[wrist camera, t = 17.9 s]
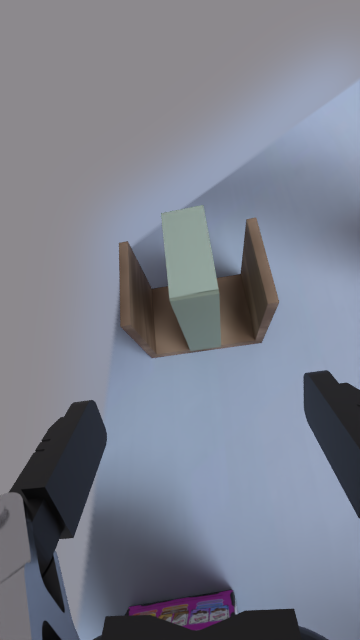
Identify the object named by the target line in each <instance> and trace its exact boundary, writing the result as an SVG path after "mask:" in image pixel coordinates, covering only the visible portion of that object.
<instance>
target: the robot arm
mask: <svg viewBox="0 0 360 640" xmlns="http://www.w3.org/2000/svg"><path fill="white" fill-rule="evenodd" d="M304 411H305V415H306V419H307V421H308V424H309V426H310V428H311V430H312V431H313V433H314V435H315V437H316V439H317V441H318V443H319V445H320V446H321V448H322V450H323V452H324V454H325V456H326V458H327V460H328V461H329V463H330V465H331V467H332V469H333V471H334V473H335V474H336V476H337V478H338V480H339V482H340V484H341V486H342V488H343V489H344V491H345V493H346V495H347V497H348V499H349V501H350V503H351V504H352V506H353V508H354V510H355V512H356V514H357V516H358V518H360V390H359V389H357V388H355V387H354V386H352V385H350V384H348V383H340V384H339V383H338V382H337V381H336V379H335V378H334V377H333V376H332V374H331V373H330V372H329V371H327V370H325V371H317V372H310V373H305V374H304ZM106 442H107V433H106V429H105V426H104V423H103V421H102V418H101V415H100V413H99V410H98V408H97V405H96V403H95V402H94V401H93V400H89V401H81V402H74V403H73V404H71V406H70V408H69V409H68V411H67V413H66V414H65V416H64V417H61V418H60V419H59V420H58V421H56V422H55V423H54V424H53V425H52V426H51V427H50V428H49V429H48V431H47V433H46V434H45V436H44V437H43V439H42V442H41V443H40V444H39V445H38V447H37V448H36V452H35V453H33V455H32V456H31V458H30V460H29V461H28V463H27V465H26V466H25V468H24V469H23V471H22V472H21V474H20V475H19V477H18V479H17V480H16V482H15V483H14V485H13V487H12V488H11V490H10V491H9V493H6V494H3V495H1V496H0V640H80V639H79V636H78V634H77V631H76V629H75V627H74V624H73V621H72V617H71V613H70V609H69V605H68V600H67V596H66V591H65V587H64V583H63V578H62V574H61V570H60V565H59V560H58V556H57V553H56V551H55V549H56V546H57V543H58V541H59V539H66V538H73V537H74V535H75V532H76V529H77V526H78V523H79V521H80V517H81V515H82V512H83V509H84V506H85V503H86V501H87V498H88V495H89V492H90V489H91V486H92V484H93V481H94V478H95V475H96V472H97V469H98V466H99V464H100V461H101V458H102V455H103V452H104V449H105V446H106ZM93 640H328V639H326V638H325V637H323V636H321V635H319V634H317V633H315V632H313V631H311V630H309V629H306V628H303V627H300V626H298V622H297V618H296V614H295V611H294V609H276V610H251V611H243V612H241V613H239V614H236V615H234V616H232V617H229V618H227V619H225V620H222V621H220V622H218V623H215V624H213V625H211V626H208V627H206V628H204V629H201V630H191V629H188V628H185V627H183V626H180V625H177V624H174V623H171V622H169V621H166V620H163V619H160V618H157V617H155V616H152V615H130V616H106V618H105V622H104V627H103V632H102V635H101V636H98V637H97V638H95V639H93Z"/></svg>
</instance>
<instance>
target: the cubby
mask: <svg viewBox="0 0 360 640" xmlns="http://www.w3.org/2000/svg"><path fill="white" fill-rule="evenodd" d="M119 270H120V327H121V328H122V329H123V330H124V331H125V332H126V333H127V334H128V335H129V336H130V337H131V338H132V339H133V340H134V341H135V342H136V343H137V344H138V345H139V346H140V347H141V348H142V349H143V350H144V351H145V352H146V353H147V354H148V355H149V356H150V357H151V358H156V357H164V356H171V355H178V354H185V353H192V352H199V351H206V350H214V349H221V348H228V347H235V346H242V345H249V344H256V343H262V341H263V339H264V336H265V334H266V332H267V329H268V327H269V325H270V322H271V320H272V318H273V315H274V313H275V311H276V308H277V306H278V304H279V300H278V296H277V292H276V289H275V285H274V281H273V278H272V274H271V270H270V267H269V263H268V259H267V256H266V252H265V248H264V245H263V241H262V237H261V234H260V230H259V226H258V223H257V219H256V218H251V219H247V220H246V229H245V238H244V248H243V257H242V266H241V274H239V275H233V276H227V277H221V278H217V283H218V289H219V298H220V328H221V347H216V348H209V349H202V350H195V351H190V348H189V346H188V344H187V341H186V339H185V336H184V334H183V332H182V329H181V327H180V325H179V322H178V320H177V317H176V315H175V313H174V310H173V308H172V306H171V303H170V299H169V289H168V286H166V287H160V288H154V289H152V288H151V286H150V284H149V282H148V280H147V278H146V276H145V274H144V272H143V270H142V268H141V266H140V264H139V262H138V260H137V259H136V257H135V255H134V253H133V251H132V249H131V247H130V245H129V243H128V241H127V242H122V243H119Z"/></svg>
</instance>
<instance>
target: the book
mask: <svg viewBox="0 0 360 640" xmlns="http://www.w3.org/2000/svg"><path fill="white" fill-rule="evenodd" d="M161 218H162V228H163V238H164V248H165V258H166V268H167V279H168V289H169V299H170V303H171V306H172V308H173V310H174V313H175V315H176V317H177V320H178V322H179V325H180V327H181V329H182V332H183V334H184V336H185V339H186V341H187V344H188V346H189V348H190V351H195V350H202V349H209V348H216V347H221V328H220V298H219V289H218V283H217V278H216V272H215V267H214V261H213V256H212V250H211V245H210V239H209V234H208V228H207V223H206V217H205V212H204V206H203V205H201V206H196V207H191V208H186V209H181V210H176V211H170V212H165V213H161Z"/></svg>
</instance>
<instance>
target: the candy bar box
mask: <svg viewBox="0 0 360 640" xmlns="http://www.w3.org/2000/svg"><path fill="white" fill-rule="evenodd" d="M236 614H238V612H237V606H236V601H235V595H234V592H233V590H227V591H222V592H216V593H210V594H204V595H199V596H193V597H187V598H181V599H175V600H168V601H162V602H156V603H150V604H144V605H137V606H131V607H129V608H128V610H127V612H126V614H125V616H130V615H152V616H155V617H157V618H160V619H163V620H166V621H169V622H171V623H174V624H177V625H180V626H183V627H185V628H188V629H191V630H201V629H204V628H206V627H208V626H211V625H213V624H215V623H218V622H220V621H222V620H225V619H227V618H229V617H232V616H234V615H236Z"/></svg>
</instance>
